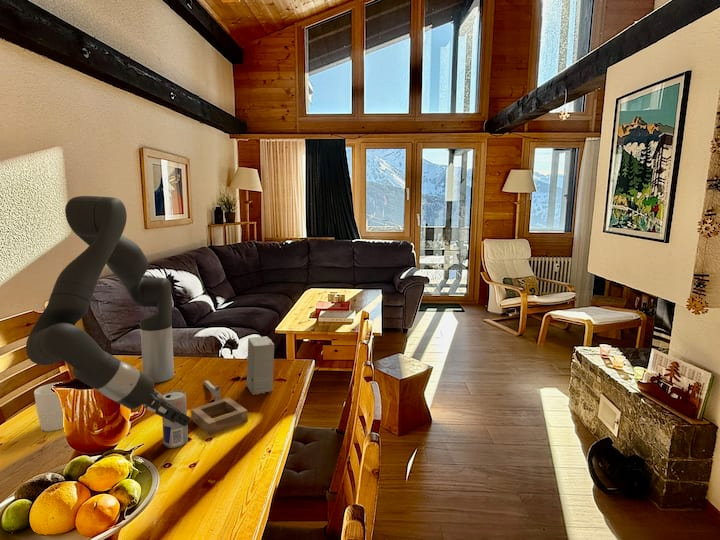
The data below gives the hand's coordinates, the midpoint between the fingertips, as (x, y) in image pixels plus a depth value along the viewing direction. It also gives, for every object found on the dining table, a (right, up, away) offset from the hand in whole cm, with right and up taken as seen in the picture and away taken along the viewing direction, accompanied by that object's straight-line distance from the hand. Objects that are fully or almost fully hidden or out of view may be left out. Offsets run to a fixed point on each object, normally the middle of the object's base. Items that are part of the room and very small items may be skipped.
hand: (182, 417), depth 102 cm
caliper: (-2, -3, +26) cm, 26 cm away
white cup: (-35, -4, +7) cm, 36 cm away
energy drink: (-1, -6, 0) cm, 6 cm away
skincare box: (+12, -2, +30) cm, 33 cm away
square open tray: (+6, -4, +10) cm, 13 cm away
